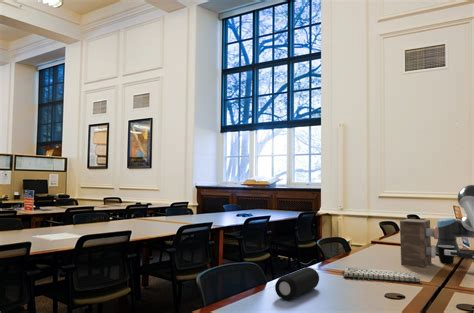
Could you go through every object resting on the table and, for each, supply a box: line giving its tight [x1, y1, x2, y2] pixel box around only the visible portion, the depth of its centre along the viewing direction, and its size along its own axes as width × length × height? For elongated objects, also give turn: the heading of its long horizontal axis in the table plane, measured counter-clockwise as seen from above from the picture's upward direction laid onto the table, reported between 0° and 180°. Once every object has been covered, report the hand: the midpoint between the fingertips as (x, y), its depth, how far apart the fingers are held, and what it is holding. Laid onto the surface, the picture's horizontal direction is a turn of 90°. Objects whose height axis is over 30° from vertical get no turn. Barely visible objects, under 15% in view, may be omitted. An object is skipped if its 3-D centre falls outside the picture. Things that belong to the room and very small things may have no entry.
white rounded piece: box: [426, 244, 437, 259], centre depth 230 cm, size 7×12×7 cm, turn 51°
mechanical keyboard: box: [342, 266, 421, 284], centre depth 202 cm, size 38×19×3 cm, turn 74°
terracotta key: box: [426, 226, 439, 240], centre depth 229 cm, size 7×12×7 cm, turn 51°
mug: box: [437, 245, 455, 265], centre depth 236 cm, size 12×9×10 cm
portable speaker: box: [274, 267, 320, 301], centre depth 173 cm, size 26×10×10 cm, turn 142°
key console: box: [399, 218, 432, 269], centre depth 233 cm, size 16×13×26 cm
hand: (444, 252), depth 223 cm, fingers closed
